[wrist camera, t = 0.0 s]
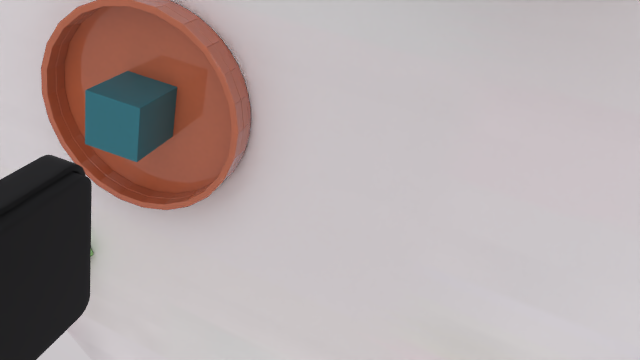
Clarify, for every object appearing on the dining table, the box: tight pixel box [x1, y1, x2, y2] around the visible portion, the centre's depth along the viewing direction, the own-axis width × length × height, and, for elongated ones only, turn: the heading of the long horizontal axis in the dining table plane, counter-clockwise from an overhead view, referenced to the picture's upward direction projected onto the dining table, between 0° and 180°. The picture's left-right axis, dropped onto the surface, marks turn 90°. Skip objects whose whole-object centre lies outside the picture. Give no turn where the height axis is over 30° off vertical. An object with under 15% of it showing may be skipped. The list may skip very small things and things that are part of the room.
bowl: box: [41, 0, 251, 210], centre depth 51 cm, size 19×19×3 cm
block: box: [85, 71, 177, 162], centre depth 49 cm, size 5×5×6 cm
